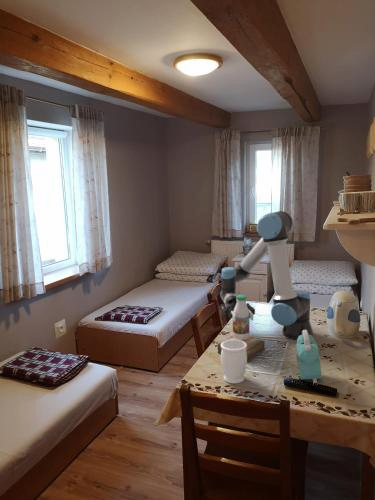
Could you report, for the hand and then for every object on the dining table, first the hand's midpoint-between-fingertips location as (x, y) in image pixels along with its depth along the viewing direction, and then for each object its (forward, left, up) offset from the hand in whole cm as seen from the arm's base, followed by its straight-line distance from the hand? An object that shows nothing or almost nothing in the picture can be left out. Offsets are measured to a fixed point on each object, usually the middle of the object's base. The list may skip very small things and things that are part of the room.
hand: (243, 318), depth 178 cm
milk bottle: (+4, -3, -11) cm, 12 cm away
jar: (-8, +21, -18) cm, 29 cm away
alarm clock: (-32, +3, -18) cm, 37 cm away
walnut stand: (+3, -3, -18) cm, 19 cm away
